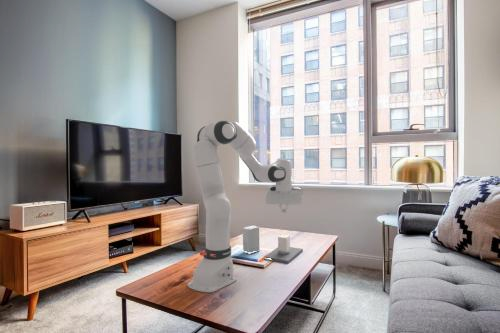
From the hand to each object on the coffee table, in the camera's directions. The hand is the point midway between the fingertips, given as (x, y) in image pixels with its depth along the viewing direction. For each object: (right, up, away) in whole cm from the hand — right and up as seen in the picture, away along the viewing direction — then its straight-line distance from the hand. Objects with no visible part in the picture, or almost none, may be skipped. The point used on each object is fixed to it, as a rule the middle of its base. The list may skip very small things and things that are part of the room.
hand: (283, 212), depth 162 cm
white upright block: (0, -21, +1) cm, 21 cm away
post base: (0, -24, +1) cm, 24 cm away
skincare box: (-18, -25, +7) cm, 31 cm away
